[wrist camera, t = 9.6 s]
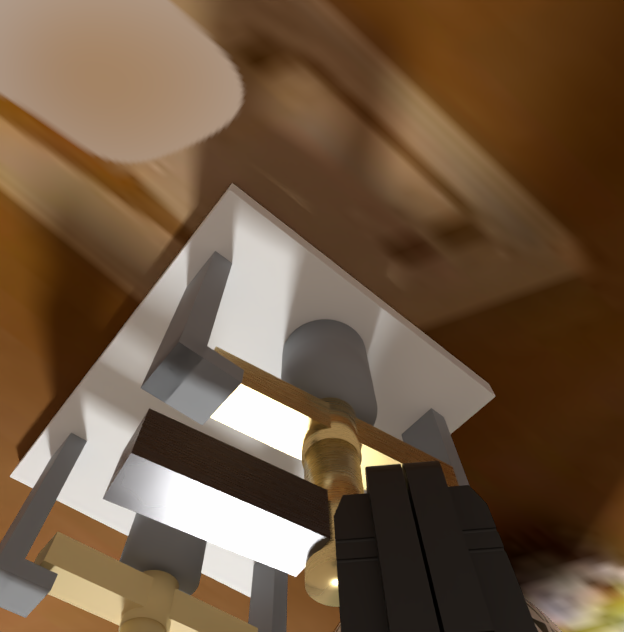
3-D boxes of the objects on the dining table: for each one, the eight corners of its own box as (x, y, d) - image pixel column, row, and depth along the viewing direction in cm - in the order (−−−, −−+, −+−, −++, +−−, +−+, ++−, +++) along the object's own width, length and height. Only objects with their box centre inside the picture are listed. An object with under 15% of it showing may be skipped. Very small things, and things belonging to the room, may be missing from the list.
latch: (452, 456, 25) (513, 625, 18) (420, 489, 26) (465, 662, 19) (186, 319, 21) (128, 460, 14) (159, 363, 22) (93, 516, 15)
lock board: (256, 583, 38) (233, 860, 26) (18, 462, 33) (-163, 736, 20) (488, 383, 31) (623, 632, 18) (232, 182, 25) (161, 334, 13)
